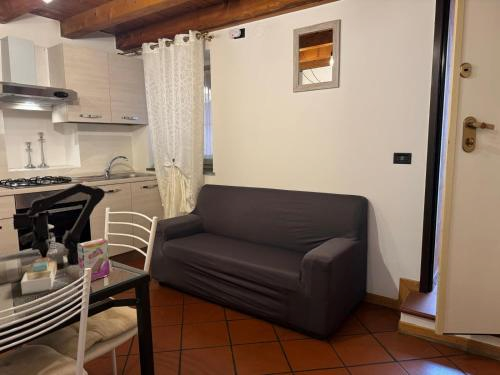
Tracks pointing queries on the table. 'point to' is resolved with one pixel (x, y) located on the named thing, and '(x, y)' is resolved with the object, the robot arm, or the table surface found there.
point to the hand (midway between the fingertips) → (44, 258)
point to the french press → (52, 245)
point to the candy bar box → (94, 257)
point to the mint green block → (40, 266)
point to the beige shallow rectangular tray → (42, 274)
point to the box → (37, 284)
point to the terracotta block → (43, 260)
